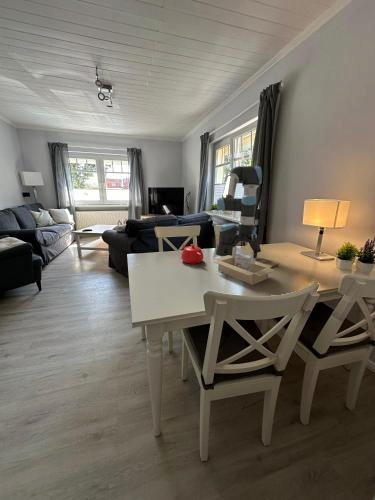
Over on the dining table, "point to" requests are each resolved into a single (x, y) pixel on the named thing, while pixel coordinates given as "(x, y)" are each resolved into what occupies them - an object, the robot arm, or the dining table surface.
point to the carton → (254, 276)
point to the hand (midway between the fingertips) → (242, 260)
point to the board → (267, 262)
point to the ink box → (243, 261)
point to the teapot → (192, 254)
